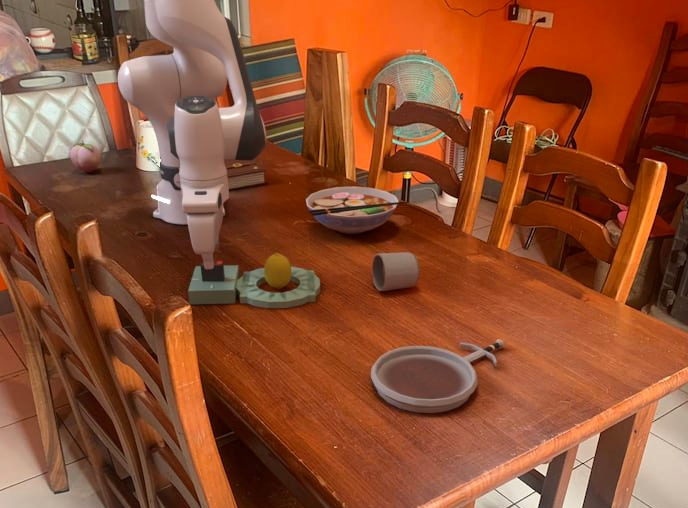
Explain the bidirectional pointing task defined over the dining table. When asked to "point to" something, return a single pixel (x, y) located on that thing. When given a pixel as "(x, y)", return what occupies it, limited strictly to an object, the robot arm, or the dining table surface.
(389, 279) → the ceramic mug
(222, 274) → the hob knob
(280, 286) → the lemon
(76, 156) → the decorative fruit
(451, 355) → the frying pan
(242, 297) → the hob
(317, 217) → the ramen bowl
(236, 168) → the book
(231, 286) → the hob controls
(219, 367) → the dining table surface
